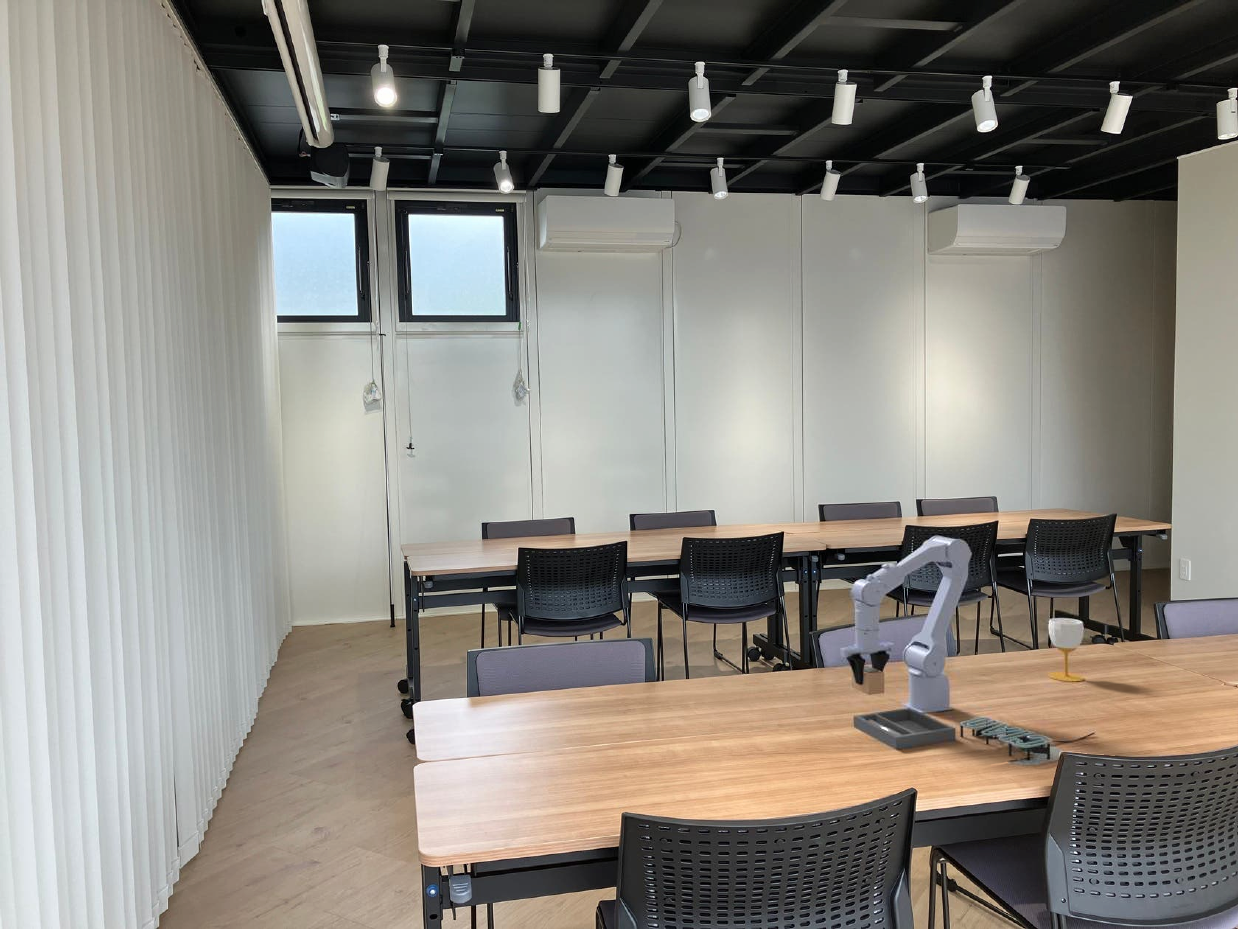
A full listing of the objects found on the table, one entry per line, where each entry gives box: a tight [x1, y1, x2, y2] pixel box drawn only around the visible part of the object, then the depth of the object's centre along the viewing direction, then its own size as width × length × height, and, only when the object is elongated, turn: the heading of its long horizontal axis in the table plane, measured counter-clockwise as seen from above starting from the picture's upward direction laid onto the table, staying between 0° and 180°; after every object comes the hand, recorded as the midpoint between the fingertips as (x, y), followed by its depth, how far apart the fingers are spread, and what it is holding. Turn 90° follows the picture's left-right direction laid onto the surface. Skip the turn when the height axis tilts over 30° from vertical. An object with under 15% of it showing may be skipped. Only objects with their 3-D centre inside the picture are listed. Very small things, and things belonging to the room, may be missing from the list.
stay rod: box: [868, 719, 902, 736], centre depth 196 cm, size 12×2×2 cm, turn 19°
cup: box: [1047, 617, 1085, 683], centre depth 240 cm, size 9×9×16 cm
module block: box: [851, 665, 885, 696], centre depth 211 cm, size 4×7×5 cm, turn 19°
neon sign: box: [959, 716, 1096, 767], centre depth 192 cm, size 21×4×29 cm
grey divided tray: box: [853, 707, 957, 750], centre depth 197 cm, size 16×16×3 cm
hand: (868, 682), depth 211 cm, fingers closed on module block, 4 cm apart
